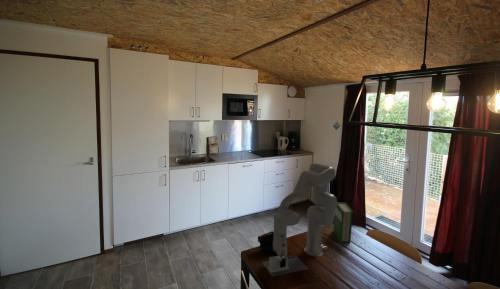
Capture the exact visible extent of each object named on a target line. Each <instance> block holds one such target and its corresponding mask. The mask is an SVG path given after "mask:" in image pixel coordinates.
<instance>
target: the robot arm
mask: <svg viewBox="0 0 500 289" xmlns="http://www.w3.org/2000/svg"><path fill="white" fill-rule="evenodd" d="M308 169H309V170H304V171H302V172H301V174H300V175H299V178H298V180H297V183H296V184H295V187H294V189H293V191H292V192H291V193H290V194H288V195H286V196H285V197H284V198H283V199H282V200H281V201H280V203H279V207H278V208H277V212H276V213H275V214H274V216H273V232H274V233H273V237H274V238H273V242H272V243H273V253H272V257H275V256H280V258H281V261H280V267H281V268H282V267H285V266H286V260H287V256H288V240H287V233H288V232H287V230H288V227H293V226H295V225H297V224H299V222H300V219H301V217H300V215H299V214H298V213H297V212H295V211H293V210H292V209H289V207H290V206H291V204H292V203H294V202H297V201H301V200H305V199H307V197H308V196H309V192H310V190H311V188H312V187H313V191H312V192H313V193H312V198H311V201H312V203H313V204H315V205H316V206H315V205H311V206H310V207H308V209H307V212H306V218H307V234H306V246H305V247H304V249H303V251H304V253H306V255H309V256H311V257H321V256H323V254H324V250H328V246H327V245H324V244H323V231H324V230H323V229H324V228H323V227H328V228H329V227H331V226H333V225H334V219H335V212H336V206H337V202H338V199H337V197H336V196H335V195H334V194H332V193H329V192H328V189H329V183H330V182H331V181H332V180H334V178H335V176H336V170H335V168H334V167H333V166H330V165H324V164H320V163H311V164H310V165H309V168H308ZM319 206H320V207H319ZM282 256H284V258H283V259H282Z"/></svg>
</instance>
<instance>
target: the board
mask: <svg viewBox="0 0 500 289" xmlns="http://www.w3.org/2000/svg"><path fill="white" fill-rule="evenodd" d="M295 256H296V257H295V258H290V259H288V267H287V269H282V270H277V271H271V269H270V268H269V260H267V261H262V263H261V264H262V265H263V266H264V267H265V269H266V271H267V272H268V274H269V275H270V277H276V276H281V275H285V274H290V273H296V272H301V271H304V270H309V267H307V265H306V264H305V263H304V262H303V261H302V260H301V259H300V258H299V257H298V255H295Z"/></svg>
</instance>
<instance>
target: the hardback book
mask: <svg viewBox="0 0 500 289" xmlns="http://www.w3.org/2000/svg"><path fill="white" fill-rule="evenodd" d="M353 212H354V211H353V210H352V208H351V207H350V206H349V205H348V204H347V202H340V201H339V202H338V201H337V206H336V212H335V217H334V221H333V234H334V235H335V237H336V236H337V237H336V238H338V239H337V240H338V243H340V242H341V243H342V242H346V243H348V242H349V243H348V244H351V239H352V227H353V214H354V213H353Z"/></svg>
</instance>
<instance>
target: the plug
mask: <svg viewBox="0 0 500 289" xmlns="http://www.w3.org/2000/svg"><path fill="white" fill-rule="evenodd" d="M296 256H297V255H296V254H291V255H287V260H286V266H285V267H282V268H281V267H280V261H281V258H280V256H279V255H278V256H275V257H273V256H269V257H268V258H269V260H268V261H269V268H270V269H271V271H277V270H282V269H287V267H288V259H290V258H295V257H296ZM283 258H284V256H282V259H283Z"/></svg>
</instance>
